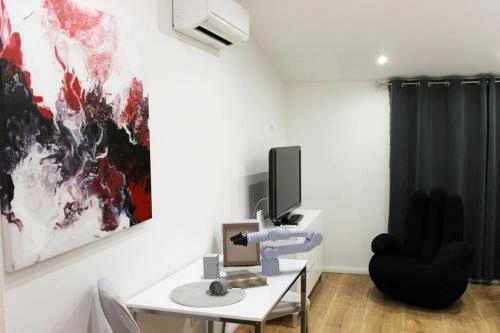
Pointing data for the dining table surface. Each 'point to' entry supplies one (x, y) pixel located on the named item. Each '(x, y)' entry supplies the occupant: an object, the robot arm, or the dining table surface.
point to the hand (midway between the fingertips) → (231, 241)
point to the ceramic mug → (218, 286)
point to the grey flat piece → (238, 274)
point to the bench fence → (247, 282)
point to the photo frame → (239, 252)
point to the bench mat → (249, 286)
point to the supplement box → (211, 266)
